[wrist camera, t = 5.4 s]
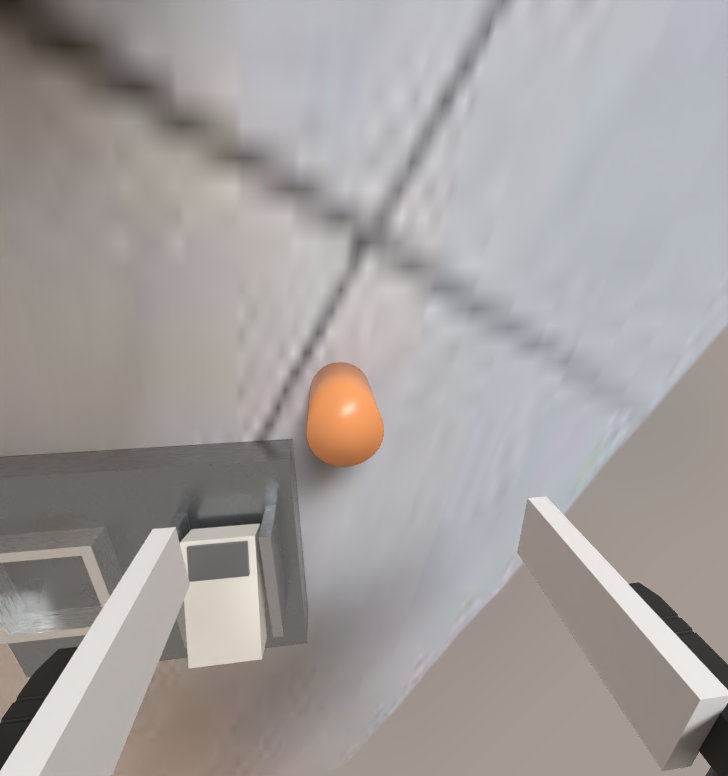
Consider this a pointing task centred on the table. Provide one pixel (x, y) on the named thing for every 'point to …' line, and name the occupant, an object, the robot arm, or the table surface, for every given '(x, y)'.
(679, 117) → the table surface
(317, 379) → the cap
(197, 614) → the block
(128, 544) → the breaker panel
